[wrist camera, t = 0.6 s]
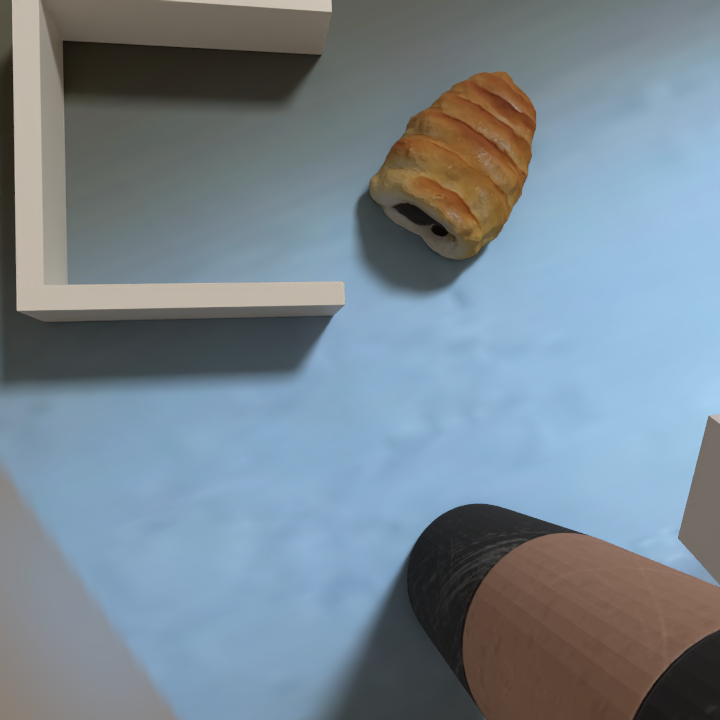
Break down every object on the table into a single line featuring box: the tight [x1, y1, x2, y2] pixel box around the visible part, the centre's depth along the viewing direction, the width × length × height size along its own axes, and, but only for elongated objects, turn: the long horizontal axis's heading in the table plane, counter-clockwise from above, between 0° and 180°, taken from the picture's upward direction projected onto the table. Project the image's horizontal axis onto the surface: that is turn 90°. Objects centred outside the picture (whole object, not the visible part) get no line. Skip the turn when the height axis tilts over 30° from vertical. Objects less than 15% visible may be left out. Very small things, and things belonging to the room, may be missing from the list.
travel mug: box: [407, 504, 720, 720], centre depth 21 cm, size 8×8×20 cm
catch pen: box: [12, 0, 345, 322], centre depth 28 cm, size 14×13×4 cm
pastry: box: [369, 72, 536, 260], centre depth 31 cm, size 9×7×4 cm
